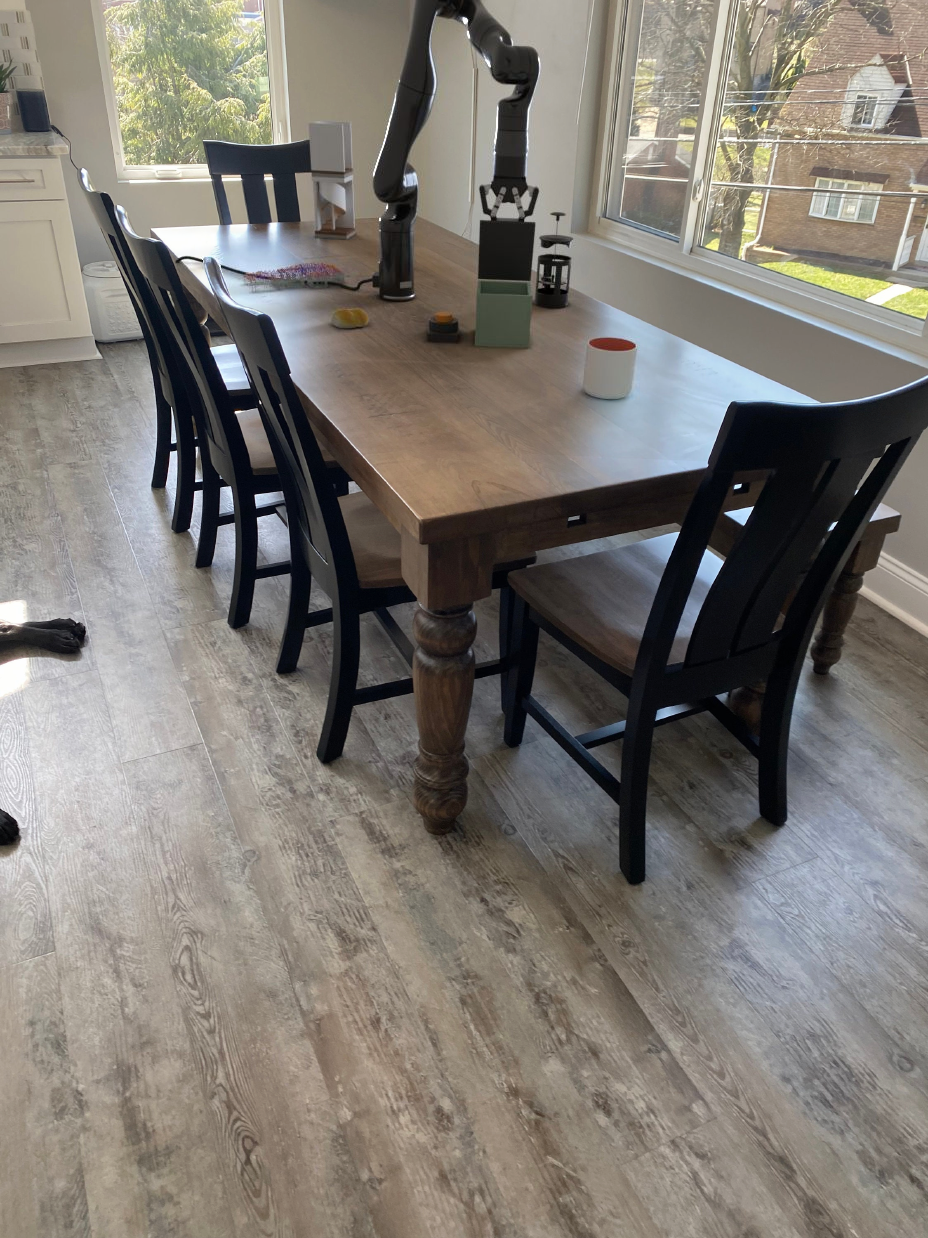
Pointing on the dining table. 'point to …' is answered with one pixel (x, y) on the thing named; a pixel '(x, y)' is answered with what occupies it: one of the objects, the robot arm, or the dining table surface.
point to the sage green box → (503, 314)
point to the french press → (547, 294)
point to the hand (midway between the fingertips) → (506, 234)
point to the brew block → (443, 331)
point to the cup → (609, 367)
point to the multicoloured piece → (288, 279)
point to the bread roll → (349, 318)
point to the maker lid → (506, 249)
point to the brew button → (443, 317)
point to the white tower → (332, 178)
